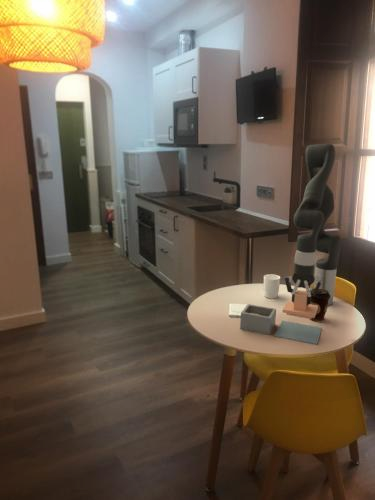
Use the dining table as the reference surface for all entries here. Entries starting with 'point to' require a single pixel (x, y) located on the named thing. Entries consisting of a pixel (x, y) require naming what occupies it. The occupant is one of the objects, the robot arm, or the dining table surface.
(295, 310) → the lid
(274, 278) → the white cup
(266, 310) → the storage box
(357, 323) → the dining table surface
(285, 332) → the mat
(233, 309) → the external hard drive
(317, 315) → the coffee cup
